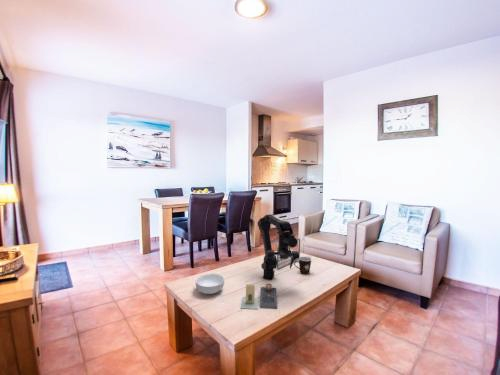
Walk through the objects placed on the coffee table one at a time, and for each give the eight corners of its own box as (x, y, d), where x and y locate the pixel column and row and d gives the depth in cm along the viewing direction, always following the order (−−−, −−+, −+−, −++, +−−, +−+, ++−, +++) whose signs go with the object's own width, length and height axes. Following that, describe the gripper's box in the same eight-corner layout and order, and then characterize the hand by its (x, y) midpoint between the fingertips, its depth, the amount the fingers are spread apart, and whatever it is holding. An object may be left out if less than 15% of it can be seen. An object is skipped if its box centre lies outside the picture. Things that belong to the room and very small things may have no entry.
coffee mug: (310, 270, 179) (311, 257, 178) (310, 275, 170) (311, 261, 169) (294, 269, 181) (294, 255, 181) (293, 273, 173) (294, 259, 172)
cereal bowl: (193, 286, 152) (193, 275, 151) (220, 282, 158) (220, 271, 157) (198, 300, 136) (198, 288, 136) (227, 295, 142) (227, 283, 142)
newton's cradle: (288, 256, 208) (289, 235, 206) (299, 259, 201) (300, 238, 199) (266, 266, 186) (266, 243, 184) (277, 270, 179) (278, 246, 177)
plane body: (260, 291, 148) (261, 282, 147) (276, 291, 147) (276, 282, 147) (259, 307, 131) (260, 297, 130) (277, 308, 130) (277, 298, 129)
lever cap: (246, 301, 136) (246, 284, 135) (254, 301, 135) (254, 284, 135) (245, 304, 133) (245, 286, 132) (254, 304, 132) (254, 287, 132)
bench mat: (242, 297, 140) (242, 296, 140) (258, 298, 140) (258, 297, 140) (240, 308, 129) (240, 307, 129) (257, 309, 129) (257, 308, 129)
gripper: (267, 246, 142) (267, 272, 143) (300, 247, 141) (299, 274, 142) (267, 240, 153) (267, 265, 154) (298, 241, 152) (297, 266, 153)
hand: (282, 267), depth 150 cm, fingers open, 9 cm apart
